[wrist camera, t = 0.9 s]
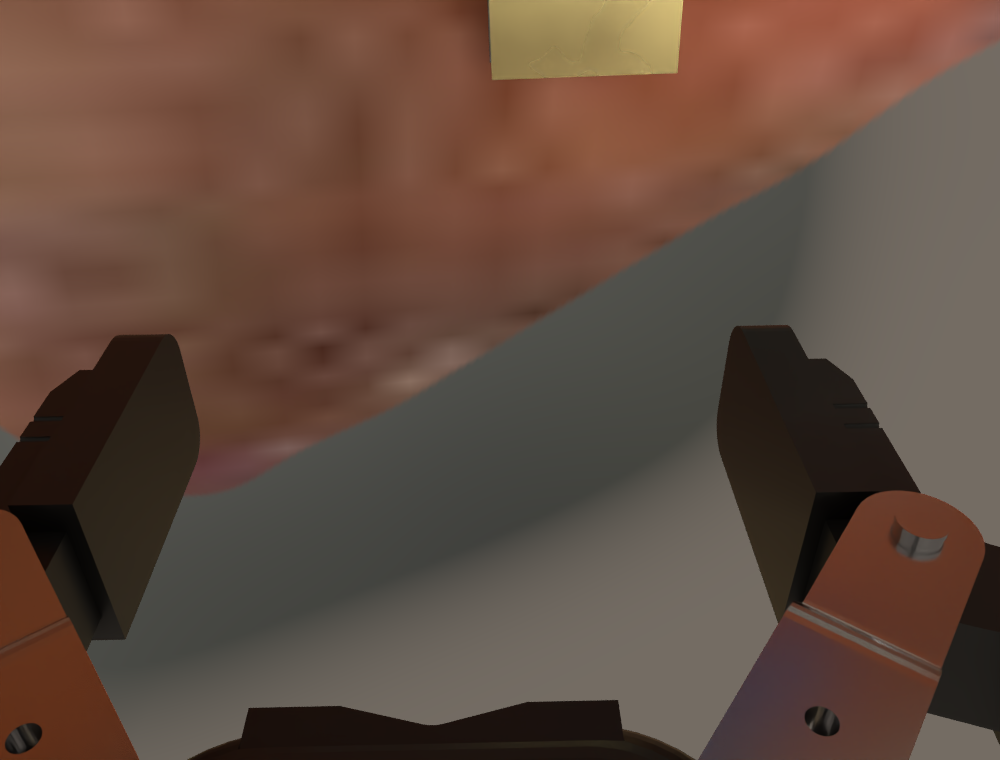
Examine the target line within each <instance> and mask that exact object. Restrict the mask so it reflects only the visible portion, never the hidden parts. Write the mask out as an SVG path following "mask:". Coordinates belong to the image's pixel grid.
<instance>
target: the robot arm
mask: <svg viewBox="0 0 1000 760" xmlns="http://www.w3.org/2000/svg"><path fill="white" fill-rule="evenodd" d="M717 439H718V446H719V451H720V455H721V458H722V461H723V464H724V467H725V470H726V472H727V476H728V478H729V481H730V484H731V487H732V490H733V493H734V496H735V499H736V502H737V505H738V508H739V510H740V513H741V516H742V519H743V522H744V525H745V527H746V531H747V534H748V537H749V540H750V543H751V545H752V548H753V551H754V554H755V557H756V560H757V563H758V565H759V569H760V572H761V574H762V577H763V580H764V583H765V586H766V589H767V592H768V595H769V598H770V601H771V603H772V607H773V610H774V612H775V615H776V618H777V621H778V625H777V627H776V629H775V630H774V632H773V634H772V636H771V637H770V639H769V641H768V643H767V644H766V646H765V647H764V649H763V651H762V652H761V654H760V656H759V658H758V659H757V661H756V663H755V664H754V666H753V668H752V670H751V671H750V673H749V675H748V676H747V678H746V680H745V681H744V683H743V685H742V686H741V688H740V690H739V691H738V693H737V695H736V696H735V698H734V700H733V702H732V703H731V705H730V707H729V708H728V710H727V712H726V714H725V715H724V717H723V719H722V720H721V722H720V724H719V725H718V727H717V729H716V730H715V732H714V734H713V735H712V737H711V739H710V741H709V742H708V744H707V746H706V747H705V749H704V751H703V752H702V754H701V756H700V758H699V759H698V760H909V758H910V755H911V753H912V750H913V747H914V745H915V742H916V740H917V737H918V734H919V732H920V729H921V727H922V724H923V721H924V719H925V716H926V713H930V714H934V715H937V716H941V717H945V718H949V719H953V720H956V721H960V722H965V723H968V724H972V725H976V726H979V727H984V728H987V729H991V730H993V731H994V733H995V735H996V738H997V740H998V742H999V744H1000V547H998V546H994V545H990V544H987V543H985V542H984V540H983V537H982V535H981V534H980V532H979V530H978V528H977V527H976V526H975V525H974V524H973V522H972V521H971V520H970V519H969V518H968V517H967V516H965V515H964V514H963V513H961V512H960V511H959V510H957V509H956V508H954V507H953V506H951V505H949V504H947V503H946V502H943V501H941V500H939V499H937V498H934V497H931V496H928V495H925V494H921V492H920V491H919V489H918V487H917V486H916V484H915V482H914V481H913V479H912V477H911V476H910V474H909V472H908V471H907V469H906V467H905V466H904V464H903V462H902V461H901V459H900V457H899V456H898V454H897V452H896V451H895V449H894V447H893V445H892V444H891V442H890V441H889V439H888V437H887V436H886V434H885V432H884V430H883V429H882V428H879V422H878V420H877V419H876V417H875V415H874V414H873V412H872V410H871V409H870V408H867V402H866V400H865V399H864V397H863V395H862V394H861V392H860V390H859V389H858V387H857V385H856V383H855V382H854V380H853V379H851V378H850V377H849V376H848V375H847V374H845V373H844V372H843V371H841V370H840V369H839V368H837V367H836V366H835V365H834V364H832V363H831V362H830V361H828V360H827V359H808V358H807V356H806V354H805V352H804V350H803V348H802V347H801V345H800V343H799V341H798V339H797V337H796V336H795V334H794V332H793V330H792V329H791V327H790V326H788V325H769V326H768V325H766V326H736V327H735V328H734V329H733V331H732V333H731V336H730V341H729V346H728V352H727V358H726V364H725V371H724V376H723V382H722V388H721V394H720V400H719V406H718V414H717ZM199 445H200V431H199V422H198V418H197V414H196V410H195V406H194V402H193V398H192V394H191V391H190V387H189V383H188V379H187V375H186V371H185V368H184V364H183V360H182V356H181V352H180V349H179V346H178V343H177V341H176V339H175V338H174V337H173V336H172V335H169V334H160V335H118V336H115V337H114V338H113V339H112V340H111V342H110V344H109V345H108V347H107V348H106V350H105V351H104V353H103V355H102V356H101V358H100V359H99V361H98V363H97V364H96V366H95V367H94V369H93V370H79V371H78V372H76V373H75V374H74V375H72V376H71V377H70V378H68V379H67V380H66V381H64V382H63V383H62V384H60V385H59V386H58V387H56V388H55V389H54V390H52V391H51V392H50V393H49V395H48V396H47V398H46V399H45V401H44V402H43V404H42V405H41V407H40V408H39V409H38V411H37V412H36V414H35V415H34V422H30V423H29V424H28V426H27V427H26V429H25V430H24V432H23V433H22V435H21V436H20V442H16V444H15V445H14V447H13V448H12V450H11V451H10V453H9V454H8V456H7V457H6V459H5V460H4V461H3V463H2V465H1V466H0V760H139V758H138V756H137V754H136V752H135V750H134V748H133V746H132V744H131V742H130V740H129V737H128V735H127V733H126V732H125V729H124V727H123V725H122V723H121V721H120V719H119V717H118V715H117V713H116V711H115V709H114V707H113V705H112V703H111V701H110V699H109V697H108V695H107V693H106V691H105V689H104V687H103V685H102V683H101V681H100V679H99V677H98V675H97V673H96V671H95V669H94V666H93V664H92V662H91V660H90V658H89V656H88V654H87V652H86V651H87V649H88V647H89V645H90V642H91V640H123V639H126V637H127V634H128V632H129V629H130V627H131V624H132V622H133V619H134V617H135V614H136V612H137V609H138V607H139V604H140V602H141V599H142V597H143V594H144V592H145V589H146V587H147V584H148V582H149V579H150V577H151V574H152V572H153V569H154V567H155V564H156V562H157V559H158V557H159V554H160V552H161V549H162V547H163V544H164V542H165V539H166V537H167V534H168V532H169V529H170V527H171V524H172V522H173V519H174V517H175V514H176V512H177V509H178V507H179V504H180V502H181V500H182V497H183V495H184V492H185V490H186V487H187V485H188V482H189V480H190V477H191V475H192V472H193V470H194V467H195V465H196V462H197V458H198V453H199ZM188 760H695V759H693V758H692V757H690V756H689V755H687V754H685V753H684V752H682V751H681V750H679V749H677V748H674V747H672V746H670V745H668V744H666V743H664V742H662V741H660V740H657V739H655V738H651V737H649V736H646V735H643V734H640V733H637V732H632V731H629V730H624V729H622V724H621V717H620V710H619V704H618V700H605V701H604V700H603V701H557V702H555V701H554V702H526V703H522V704H519V705H514V706H510V707H507V708H503V709H499V710H495V711H491V712H487V713H484V714H480V715H476V716H472V717H468V718H464V719H460V720H456V721H453V722H449V723H445V724H440V725H423V724H419V723H414V722H409V721H405V720H400V719H396V718H391V717H387V716H382V715H377V714H373V713H369V712H364V711H359V710H354V709H351V708H346V707H342V706H321V707H275V708H249V710H248V714H247V717H246V722H245V726H244V730H243V734H242V738H240V739H237V740H233V741H229V742H227V743H224V744H221V745H219V746H216V747H213V748H211V749H208V750H206V751H204V752H202V753H200V754H198V755H196V756H194V757H192V758H189V759H188Z"/></svg>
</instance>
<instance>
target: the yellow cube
mask: <svg viewBox="0 0 1000 760" xmlns="http://www.w3.org/2000/svg"><path fill="white" fill-rule="evenodd" d="M682 7H683V0H488V26H489V52H490V63H491V67H492V80H505V79H531V78H558V77H584V76H611V75H638V74H664V73H677V70H678V57H679V44H680V32H681V19H682Z"/></svg>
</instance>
